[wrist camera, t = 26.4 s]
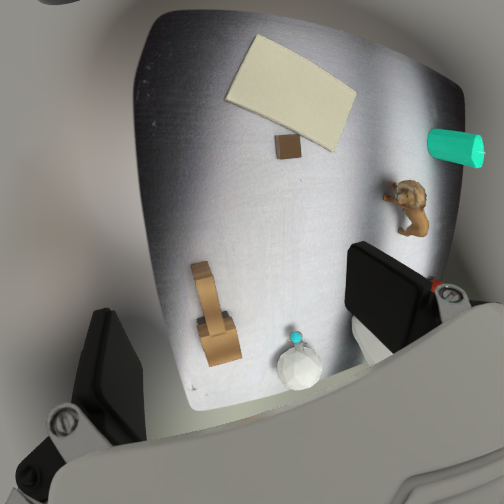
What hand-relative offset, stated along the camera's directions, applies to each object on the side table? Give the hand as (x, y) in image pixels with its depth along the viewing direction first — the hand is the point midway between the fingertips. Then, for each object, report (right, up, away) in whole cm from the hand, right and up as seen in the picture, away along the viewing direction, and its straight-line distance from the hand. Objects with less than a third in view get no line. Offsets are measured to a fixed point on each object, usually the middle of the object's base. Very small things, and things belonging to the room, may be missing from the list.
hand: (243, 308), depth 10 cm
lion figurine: (+24, +10, +32) cm, 42 cm away
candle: (+36, +23, +30) cm, 52 cm away
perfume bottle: (+7, -15, +37) cm, 40 cm away
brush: (-6, -6, +28) cm, 29 cm away
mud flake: (+5, +15, +23) cm, 28 cm away
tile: (+6, +22, +20) cm, 31 cm away
